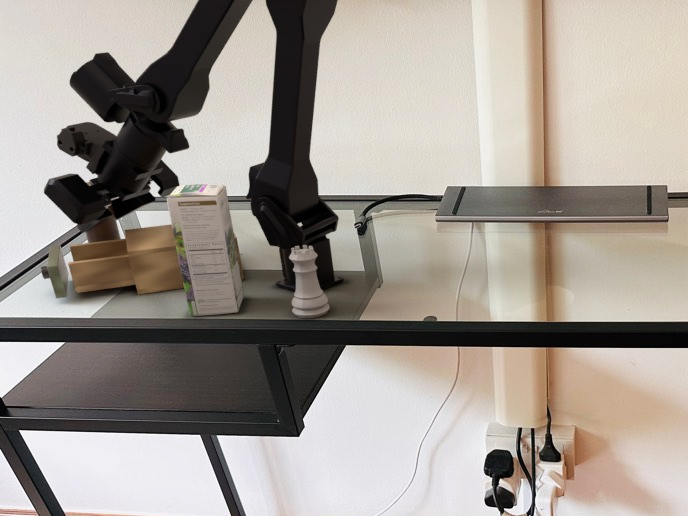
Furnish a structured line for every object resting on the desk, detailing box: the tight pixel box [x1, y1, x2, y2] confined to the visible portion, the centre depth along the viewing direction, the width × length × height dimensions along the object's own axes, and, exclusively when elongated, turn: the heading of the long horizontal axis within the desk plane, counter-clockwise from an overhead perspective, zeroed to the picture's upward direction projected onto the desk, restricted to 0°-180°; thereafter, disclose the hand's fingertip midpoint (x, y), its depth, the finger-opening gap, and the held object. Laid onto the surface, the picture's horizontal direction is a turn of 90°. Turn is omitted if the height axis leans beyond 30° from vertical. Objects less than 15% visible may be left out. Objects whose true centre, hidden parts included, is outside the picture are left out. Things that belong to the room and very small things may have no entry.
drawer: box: [40, 238, 136, 299], centre depth 108 cm, size 14×10×4 cm
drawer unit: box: [124, 224, 245, 295], centre depth 112 cm, size 13×11×6 cm
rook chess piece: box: [289, 245, 331, 319], centre depth 98 cm, size 4×4×8 cm
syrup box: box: [166, 183, 245, 317], centre depth 99 cm, size 6×6×14 cm
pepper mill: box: [84, 181, 122, 243], centre depth 116 cm, size 4×4×11 cm
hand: (93, 225), depth 117 cm, fingers closed on pepper mill, 4 cm apart
